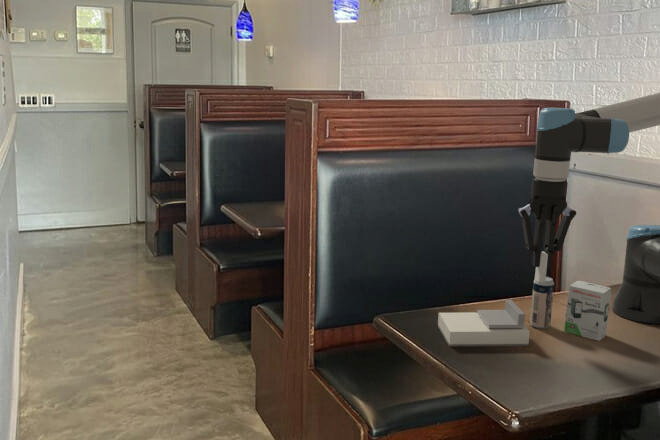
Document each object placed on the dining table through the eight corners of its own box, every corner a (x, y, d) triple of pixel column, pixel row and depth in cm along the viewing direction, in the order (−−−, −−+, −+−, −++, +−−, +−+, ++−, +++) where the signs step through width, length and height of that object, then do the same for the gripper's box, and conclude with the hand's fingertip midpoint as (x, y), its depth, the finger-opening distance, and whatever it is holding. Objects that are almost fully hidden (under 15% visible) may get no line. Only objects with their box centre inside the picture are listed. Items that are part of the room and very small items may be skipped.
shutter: (510, 312, 164) (511, 299, 164) (523, 327, 155) (524, 314, 154) (477, 313, 164) (478, 299, 163) (488, 328, 154) (489, 314, 154)
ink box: (562, 331, 163) (567, 284, 161) (570, 326, 167) (575, 279, 164) (599, 341, 158) (605, 292, 155) (607, 335, 162) (612, 287, 159)
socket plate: (511, 325, 166) (512, 312, 166) (528, 345, 155) (529, 331, 154) (437, 326, 165) (438, 312, 164) (449, 346, 154) (450, 331, 153)
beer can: (551, 330, 164) (555, 282, 161) (530, 328, 165) (534, 280, 162) (549, 323, 169) (553, 276, 166) (529, 321, 169) (533, 274, 167)
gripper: (572, 176, 157) (561, 275, 162) (515, 175, 156) (506, 275, 161) (586, 181, 149) (574, 285, 154) (527, 180, 148) (517, 285, 154)
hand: (539, 280), depth 158 cm, fingers closed
